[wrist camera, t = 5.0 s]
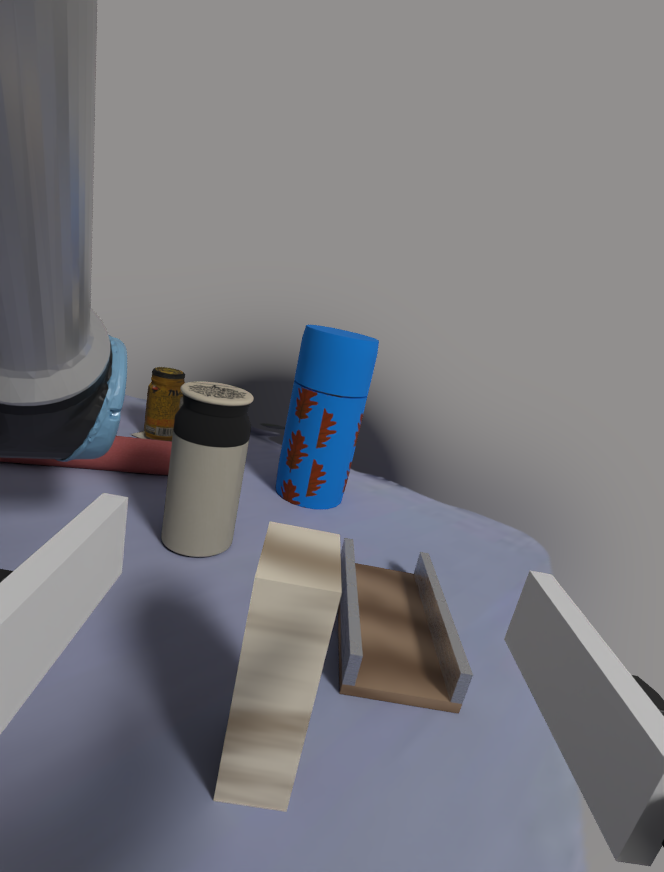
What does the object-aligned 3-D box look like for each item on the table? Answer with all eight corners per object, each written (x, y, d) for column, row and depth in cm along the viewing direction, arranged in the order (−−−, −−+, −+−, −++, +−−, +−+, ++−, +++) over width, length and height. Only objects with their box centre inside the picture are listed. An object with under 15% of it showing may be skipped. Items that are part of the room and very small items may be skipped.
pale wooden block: (286, 811, 29) (341, 592, 24) (213, 800, 28) (254, 577, 24) (294, 724, 34) (339, 534, 30) (233, 714, 34) (269, 521, 29)
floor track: (458, 713, 39) (473, 675, 37) (339, 693, 38) (350, 654, 37) (419, 582, 56) (428, 553, 55) (337, 567, 55) (344, 537, 54)
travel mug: (232, 561, 52) (258, 406, 47) (156, 557, 50) (174, 394, 45) (231, 524, 59) (253, 387, 54) (165, 520, 57) (181, 376, 52)
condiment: (160, 427, 87) (166, 364, 83) (198, 441, 84) (206, 376, 81) (130, 435, 80) (136, 367, 77) (170, 450, 78) (178, 380, 74)
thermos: (312, 474, 80) (343, 328, 73) (356, 502, 73) (395, 344, 66) (260, 483, 73) (289, 321, 65) (305, 515, 66) (342, 338, 58)
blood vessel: (201, 470, 74) (205, 440, 72) (201, 483, 69) (206, 452, 68) (-131, 441, 61) (-135, 404, 60) (-158, 455, 56) (-162, 416, 55)
